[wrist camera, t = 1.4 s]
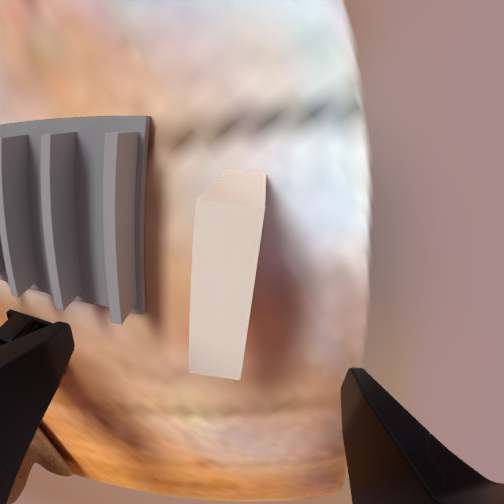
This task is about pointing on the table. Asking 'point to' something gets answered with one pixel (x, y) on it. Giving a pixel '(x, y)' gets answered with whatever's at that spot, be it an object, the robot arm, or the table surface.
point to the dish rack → (75, 210)
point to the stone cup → (42, 455)
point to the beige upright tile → (224, 271)
